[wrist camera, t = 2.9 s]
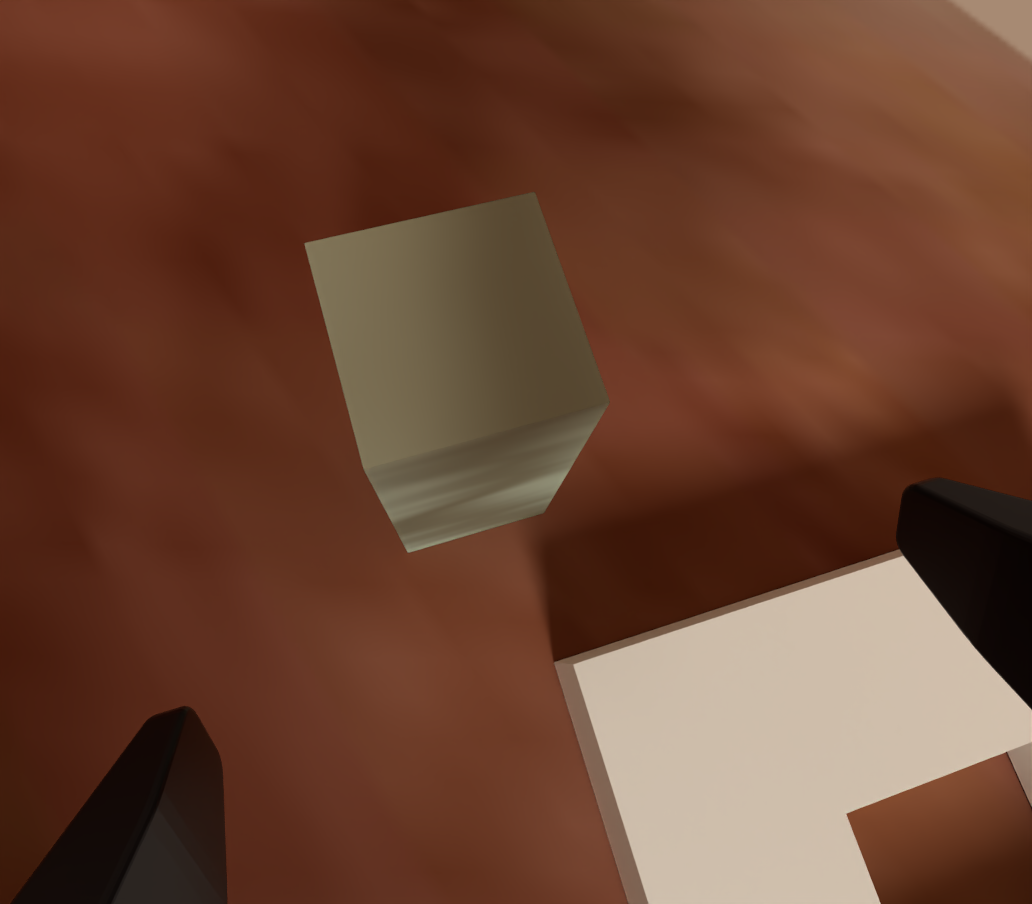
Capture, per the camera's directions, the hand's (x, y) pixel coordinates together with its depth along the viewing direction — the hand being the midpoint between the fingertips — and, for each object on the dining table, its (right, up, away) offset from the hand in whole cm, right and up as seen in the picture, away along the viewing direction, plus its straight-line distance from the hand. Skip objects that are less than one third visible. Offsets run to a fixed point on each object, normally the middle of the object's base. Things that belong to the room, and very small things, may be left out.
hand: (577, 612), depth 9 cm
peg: (-2, +2, +12) cm, 12 cm away
